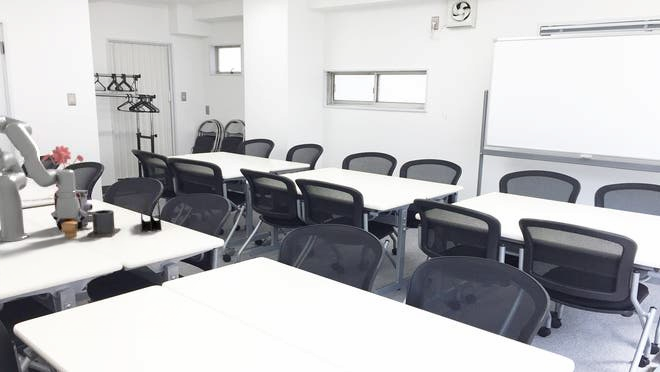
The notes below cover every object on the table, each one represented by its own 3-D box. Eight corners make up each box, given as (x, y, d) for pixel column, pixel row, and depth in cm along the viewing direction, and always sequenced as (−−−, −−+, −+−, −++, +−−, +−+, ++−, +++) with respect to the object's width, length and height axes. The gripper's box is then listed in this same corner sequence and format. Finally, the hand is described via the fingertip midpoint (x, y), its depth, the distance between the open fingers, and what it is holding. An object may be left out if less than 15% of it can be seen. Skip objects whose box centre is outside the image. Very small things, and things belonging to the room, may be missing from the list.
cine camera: (91, 229, 265) (88, 192, 262) (54, 229, 265) (51, 191, 262) (99, 225, 274) (97, 189, 271) (64, 224, 274) (61, 188, 271)
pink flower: (88, 194, 356) (84, 145, 351) (48, 199, 338) (43, 147, 333) (80, 192, 367) (75, 144, 361) (40, 197, 349) (35, 146, 343)
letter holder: (160, 222, 283) (159, 197, 281) (161, 231, 265) (160, 204, 262) (141, 223, 280) (140, 198, 277) (141, 232, 261) (139, 205, 259)
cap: (59, 238, 247) (58, 224, 246) (66, 234, 255) (65, 221, 253) (75, 238, 248) (74, 224, 246) (81, 234, 255) (80, 221, 254)
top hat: (87, 236, 252) (85, 214, 250) (97, 230, 263) (95, 209, 261) (111, 236, 252) (110, 214, 250) (120, 230, 264) (119, 209, 262)
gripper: (45, 196, 243) (48, 231, 246) (82, 196, 244) (85, 231, 247) (53, 193, 251) (56, 227, 254) (88, 193, 252) (91, 227, 255)
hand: (70, 229), depth 251 cm, fingers open, 8 cm apart
